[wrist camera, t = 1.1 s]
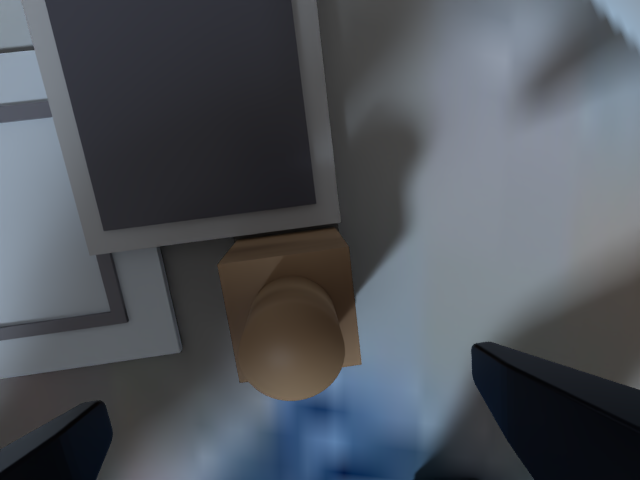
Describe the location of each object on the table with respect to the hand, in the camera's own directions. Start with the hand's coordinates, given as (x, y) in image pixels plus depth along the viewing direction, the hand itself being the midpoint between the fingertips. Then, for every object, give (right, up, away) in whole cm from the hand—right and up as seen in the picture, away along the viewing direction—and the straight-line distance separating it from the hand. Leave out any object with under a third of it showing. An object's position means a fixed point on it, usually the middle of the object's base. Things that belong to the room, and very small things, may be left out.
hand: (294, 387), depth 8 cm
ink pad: (-5, +9, +7) cm, 12 cm away
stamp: (-1, +2, +9) cm, 9 cm away
